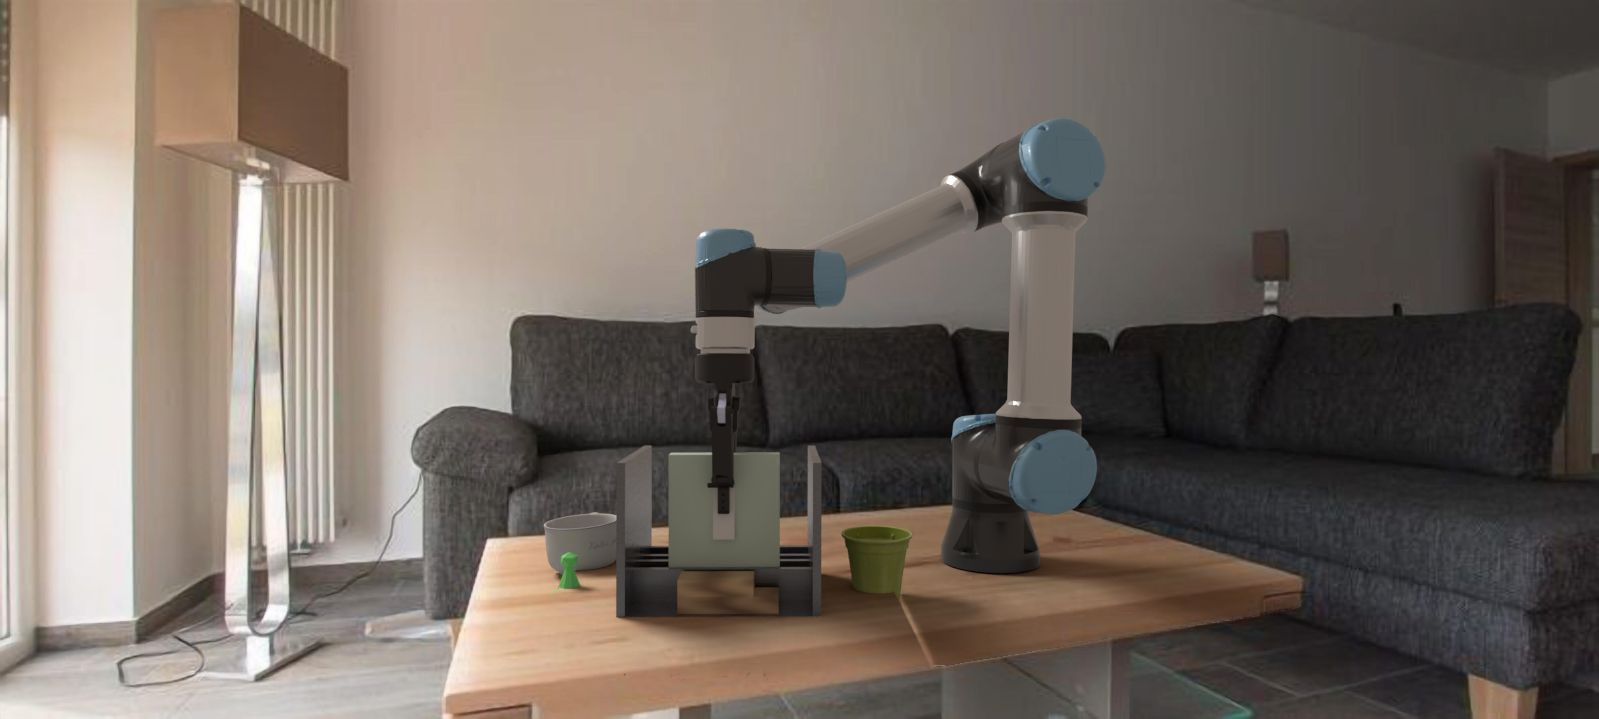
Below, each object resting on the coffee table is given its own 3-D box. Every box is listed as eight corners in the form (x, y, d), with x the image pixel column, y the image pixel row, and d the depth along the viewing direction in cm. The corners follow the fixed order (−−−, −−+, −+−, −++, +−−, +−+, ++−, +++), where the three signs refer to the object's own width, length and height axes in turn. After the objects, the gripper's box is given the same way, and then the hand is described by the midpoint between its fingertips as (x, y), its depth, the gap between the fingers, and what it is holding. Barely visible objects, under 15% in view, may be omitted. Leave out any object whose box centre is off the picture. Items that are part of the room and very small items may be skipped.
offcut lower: (778, 603, 101) (778, 587, 101) (778, 613, 97) (778, 596, 97) (681, 603, 100) (681, 587, 100) (677, 614, 96) (677, 597, 96)
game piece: (547, 595, 109) (547, 550, 109) (579, 590, 112) (579, 546, 112) (557, 603, 106) (558, 557, 106) (590, 598, 108) (590, 552, 108)
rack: (814, 583, 115) (814, 445, 115) (821, 628, 96) (821, 462, 96) (644, 583, 115) (644, 445, 115) (616, 629, 95) (616, 463, 95)
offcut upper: (754, 587, 101) (754, 571, 101) (753, 596, 97) (753, 580, 97) (681, 587, 100) (681, 571, 100) (677, 597, 96) (677, 580, 96)
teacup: (599, 584, 115) (599, 527, 115) (529, 580, 117) (529, 524, 117) (638, 560, 128) (638, 509, 128) (575, 557, 130) (575, 507, 130)
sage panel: (779, 591, 105) (779, 452, 105) (779, 597, 103) (779, 454, 103) (671, 592, 105) (671, 452, 105) (668, 597, 103) (668, 454, 103)
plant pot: (903, 611, 102) (903, 542, 102) (832, 603, 106) (832, 537, 106) (919, 592, 111) (919, 528, 111) (852, 585, 114) (852, 523, 114)
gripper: (701, 352, 112) (701, 523, 112) (688, 351, 96) (688, 550, 96) (756, 352, 112) (756, 523, 112) (751, 351, 96) (752, 550, 96)
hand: (724, 535), depth 104 cm, fingers closed on sage panel, 2 cm apart
